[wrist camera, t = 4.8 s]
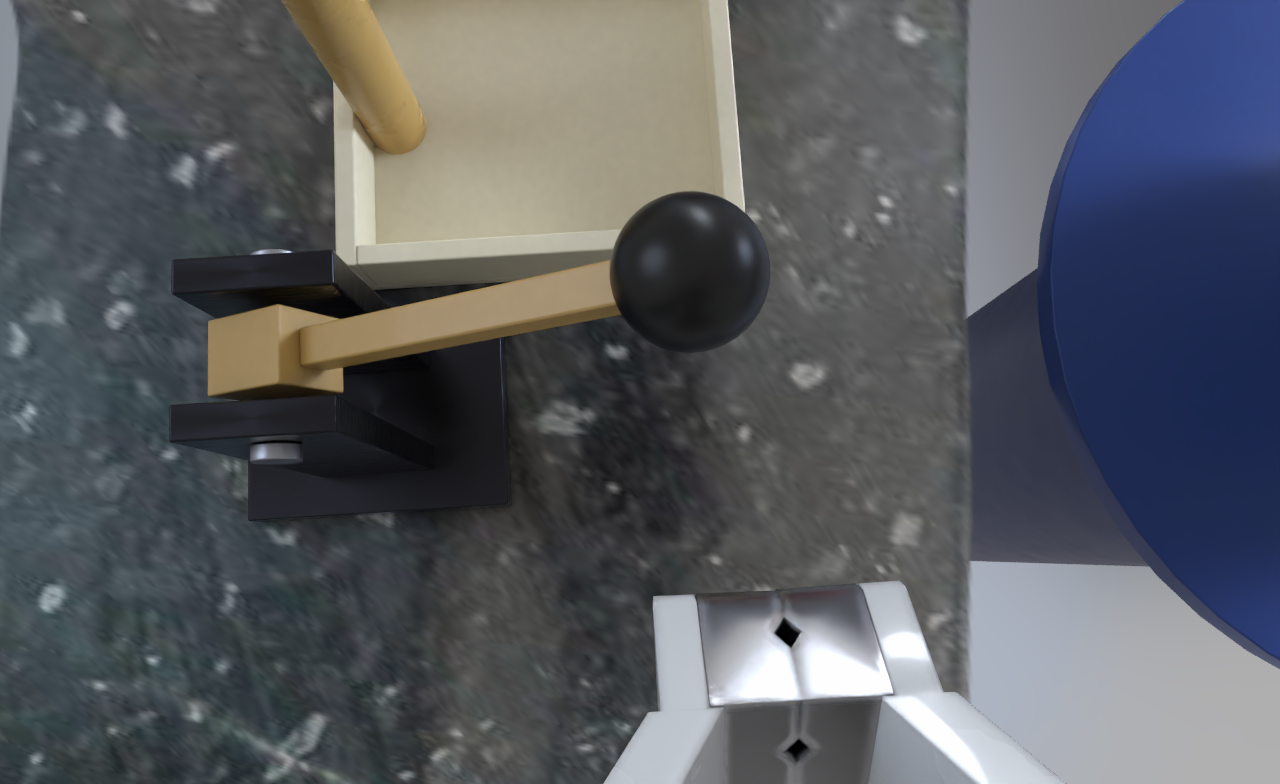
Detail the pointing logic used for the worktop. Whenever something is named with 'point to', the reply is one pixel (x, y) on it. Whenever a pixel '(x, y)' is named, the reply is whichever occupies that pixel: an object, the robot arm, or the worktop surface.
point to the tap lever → (521, 305)
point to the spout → (363, 69)
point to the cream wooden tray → (535, 135)
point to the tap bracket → (350, 406)
